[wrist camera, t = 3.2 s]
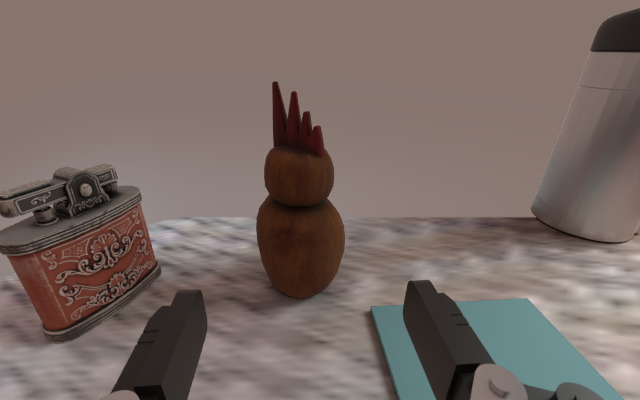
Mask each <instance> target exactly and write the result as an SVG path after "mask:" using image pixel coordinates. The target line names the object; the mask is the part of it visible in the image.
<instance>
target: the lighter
mask: <svg viewBox="0 0 640 400" xmlns="http://www.w3.org/2000/svg"><path fill="white" fill-rule="evenodd" d="M117 179H118V178H117V175H116V171H115V168H114V165H112V164H100V165H96V166H93V167H90V168H87V169H83V170H79V169H75V168H70V167H64V168H61V169H58V170H57V171H56V172H55V173H54V175H53V178H52V179H51V180H48V181H47V180H43V179H41V180H37V181H34V182H31V183H27V184H24V185H21V186H17V187H14V188H11V189H7V190H4V191H1V192H0V214H1V216H2V217H5V218H14V217H18V216H22V215H24V214H27V213H30V212H33V214H34V216H31V217H29V218H27V219H25V220H23V221H20V222H19V223H16V224H14V225H12V226H9V227H7V228H5V229H3V230H1V231H0V253H2V254H3V255H7V257H8V259H9V261H10V263H11V264H12V266H13V268H14V270H15V272H16V274H17V276H18V277H19V279H20V281H21V283H22V285H23V287H24V289H25V290H26V292H27V294H28V296H29V298H30V300H31V302H32V303H33V305H34V307H35V309H36V311H37V313H38V315H39V317H40V318H41V320H42V324H41V328H42V330H43V332H44V334H45V336H46V338H47V339H48V340H49V341H50V342H53V343H65V342H68V341H72V340H74V339H76V338H78V337H80V336H81V335H83V334H85V333H86V332H88V331H90V330H91V329H93V328H94V327H96V326H98V325H99V324H101V323H103V322H104V321H106V320H107V319H109V318H110V317H111V316H113V315H114V314H116V313H117V312H119V311H120V310H121V309H123V308H124V307H126V306H127V305H128V304H130V303H131V302H132V301H133V300H134V299H136V298H137V297H138V296H139V295H140V294H142V293H143V292H144V291H145V290H146V289H147V288H148V287H149V286H150V285H151V284H152V283H153V282H154V281H155V280H156V279H157V278H159V276H160V275H161V268H160V265H159V262H158V260H156V259H155V256H154V252H153V249H152V245H151V241H150V238H149V234H148V230H147V226H146V223H145V219H144V216H143V212H142V208H141V205H140V202H141V201H142V197H141V194H140V190H139V189H138V188H137V187H134V186H117V181H116V180H117ZM101 188H102V189H103V190H102V189H101ZM51 204H53V208H51V207H50V206H49V205H51Z"/></svg>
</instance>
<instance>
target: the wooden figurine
mask: <svg viewBox="0 0 640 400" xmlns="http://www.w3.org/2000/svg"><path fill="white" fill-rule="evenodd" d="M272 88H273V89H272V90H273V139H274V148H273V149H271V150H270V151H269V153H268V155H267V157H266V162H265V167H264V178H265V186H266V188H267V190H268V192H269V195H268V197H267V198H266V200H265V201H264V202H263V204H262V205H261V206H260V208H259V212H258V215H257V226H256V231H257V241H258V246H259V250H260V254H261V259H262V262H263V265H264V268H265V270H266V272H267V274H268V276H269V278H270V280H271V282H272V284H273V285H274V286H275V287H276V288H277V289H278V290H279V291H280V292H282V293H284V294H286V295H288V296H291V297H296V298H308V297H312V296H314V295H316V294H318V293H320V292H322V291H323V290H324V289H325V288H326V287H328V286H329V284H330V283H331V281H332V280H333V278H334V277H335V275H336V273H337V271H338V268H339V265H340V261H341V258H342V255H343V252H344V245H345V234H344V225H343V223H342V220H341V217H340V215H339V213H338V212H337V210H336V208H335V207H334V206H333V205H332V203H331V202H330V201H329V200H328V199H327V197H328V196H329V194H330V192H331V190H332V187H333V182H334V167H333V164H332V160H331V158H330V156H329V154H328V153H327V151H326V149H324V143H323V137H322V131H321V127H320V126H315V127H314V128H313V130H312V125H311V117H310V112H309V111H307V112H304V113H303V117H302V122H301V118H300V112H299V105H298V98H297V93H296V92H295V91H293V92H292V93H291V99H290V107H289V114H288V119H287V115H286V112H285V108H284V104H283V100H282V97H281V93H280V89H279V85H278V82H273V83H272Z"/></svg>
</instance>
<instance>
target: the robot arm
mask: <svg viewBox="0 0 640 400" xmlns="http://www.w3.org/2000/svg"><path fill="white" fill-rule="evenodd" d="M590 50H591V51H592V52H590V53H589V55H588V57H587V60H586V63H585V65H584V68H583V71H582V73H581V76H580V79H579V81H578V85H577V87H576V90H575V92H574V95H573V98H572V100H571V103H570V106H569V109H568V111H567V114H566V116H565V119H564V122H563V125H562V127H561V130H560V132H559V135H558V138H557V140H556V143H555V146H554V148H553V151H552V154H551V156H550V159H549V162H548V164H547V167H546V170H545V172H544V175H543V177H542V180H541V183H540V185H539V188H538V191H537V193H536V196H535V199H534V202H533V204H532V208H531V210H532V213H533V214H534V215H535V216H536V217H537V218H538V219H540V220H541V221H543V222H544V223H546V224H548V225H550V226H552V227H554V228H556V229H558V230H561V231H564V232H566V233H569V234H572V235H575V236H579V237H583V238H587V239H591V240H597V241H603V242H624V241H628V240H630V239H631V238H632V237H633V235H634V234H635V233H640V8H639V9H635V10H632V11H629V12H625V13H621V14H618V15H615V16H613V17H611V18H609V19H607V20H606V21H604V22H603V23H602V25H601V26H600V28H599V30H598V32H597V34H596V36H595V39H594V42H593V44H592V47H591V49H590ZM403 320H404V324H405V326H406V329H407V331H408V334H409V336H410V338H411V341H412V343H413V346H414V348H415V350H416V353H417V355H418V358H419V360H420V362H421V365H422V367H423V369H424V372H425V374H426V377H427V379H428V381H429V384H430V386H431V389H432V391H433V393H434V396H435V398H436V400H604V399H603V398H602V397H600V396H599V395H598V394H597V393H595V392H594V391H592V390H590V389H588V388H587V387H585V386H582V385H580V384H577V383H572V382H564V383H561V384H560V385H559V386H558V387H557V389H556V391H555V392H554V391H550V390H546V389H541V388H537V387H533V386H529V385H526V384H523V383H521V382H520V380H519V379H518V378H517V377H516V376H515V375H514V374H512V373H511V372H510V371H508V370H507V369H505V368H503V367H501V366H498V365H496V364H495V362H494V361H493V359H492V358H491V356H490V355H489V353H488V352H487V350H486V349H485V347H484V346H483V344H482V343H481V341H480V340H479V338H478V336H477V335H476V333H475V332H474V330H473V329H472V327H471V326H469V323H468V321H467V320H466V318H465V317H464V316H463V314H462V312H461V310H460V309H459V307H458V306H457V304H456V303H455V302H454V301H453V300H452V299H450V298H449V297H448V296H447V295H446V294H444V293H437V291H436V289H435V288H434V286H433V285H432V283H431V282H430V281H429V280H417V281H409V282H408V285H407V290H406V295H405V300H404V306H403ZM206 333H207V316H206V311H205V306H204V301H203V297H202V292H201V290H183V291H178V292H177V294H176V296H175V298H174V300H173V302H172V304H171V306H162V307H161V308H160V309H159V310H158V311H157V312H156V313H155V314H154V315H153V316H152V317H151V318H150V319H149V321H148V323H147V325H146V327H145V329H144V331H143V334H142V335H141V337H140V338H139V340H138V344H137V345H136V346H135V348H134V350H133V352H132V354H131V356H130V358H129V360H128V362H127V363H126V365H125V367H124V369H123V371H122V373H121V375H120V377H119V379H118V381H117V383H116V385H115V386H114V388H113V390H112V392H111V393H110V394H109V395H107V396H105V397H103V398H102V399H100V400H187V398H188V395H189V392H190V388H191V385H192V381H193V378H194V375H195V371H196V368H197V364H198V361H199V358H200V354H201V351H202V347H203V344H204V341H205V337H206Z"/></svg>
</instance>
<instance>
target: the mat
mask: <svg viewBox="0 0 640 400" xmlns="http://www.w3.org/2000/svg"><path fill="white" fill-rule="evenodd" d="M455 303H456V304H457V306H458V307H459V309H460V310H461V312H462V314H463V316H464V317H465V318H466V320H467V321H468V323H469V326H471V327H472V329H473V330H474V332H475V333H476V335H477V336H478V338H479V340H480V341H481V343H482V344H483V346H484V347H485V349H486V350H487V352H488V353H489V355H490V356H491V358H492V359H493V361H494V362H495V364H496V365H498V366H501V367H503V368H505V369H507V370H508V371H510V372H511V373H512V374H514V375H515V376H516V377H517V378H518V379H519V380H520V382H521V383H523V384H526V385H529V386H533V387H537V388H541V389H546V390H550V391H554V392H555V391H556V389H557V387H558V386H559V385H560V384H561V383H564V382H572V383H577V384H580V385H582V386H585V387H587V388H588V389H590V390H592V391H594V392H595V393H597V394H598V395H599V396H600V397H602V398H603V399H604V400H624V399H623V398H622V397H621V396H620V395H619V394H618V393H617V392H616V391H615V390H614V389H613V387H612V386H611V385H610V384H609V383H608V382H607V381H606V380H605V379H604V378H603V377H602V376H601V375H600V374H599V373H598V372H597V371H596V370H595V369H594V368H593V367H592V366H591V365H590V363H589V362H588V361H587V360H586V359H585V358H584V357H583V356H582V355H581V354H580V353H579V352H578V351H577V350H576V349H575V348H574V347H573V346H572V345H571V344H570V343H569V342H568V341H567V339H566V338H565V337H564V336H563V335H562V334H561V333H560V332H559V331H558V330H557V329H556V328H555V327H554V326H553V325H552V324H551V323H550V322H549V321H548V320H547V319H546V318H545V317H544V315H543V314H542V313H541V312H540V311H539V310H538V309H537V308H536V307H535V306H534V305H533V304H532V303H531V302H530V301H529V300H528V299H527V298H524V299H505V300H486V301H467V302H455ZM403 306H404V305H390V306H371V310H370V311H371V314H372V317H373V320H374V324H375V327H376V330H377V333H378V337H379V340H380V343H381V346H382V349H383V353H384V356H385V359H386V362H387V366H388V369H389V372H390V375H391V378H392V382H393V385H394V388H395V391H396V395H397V398H398V400H436V398H435V396H434V393H433V391H432V389H431V386H430V384H429V381H428V379H427V377H426V374H425V372H424V369H423V367H422V365H421V362H420V360H419V358H418V355H417V353H416V350H415V348H414V346H413V343H412V341H411V338H410V336H409V334H408V331H407V329H406V326H405V324H404V320H403Z"/></svg>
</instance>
